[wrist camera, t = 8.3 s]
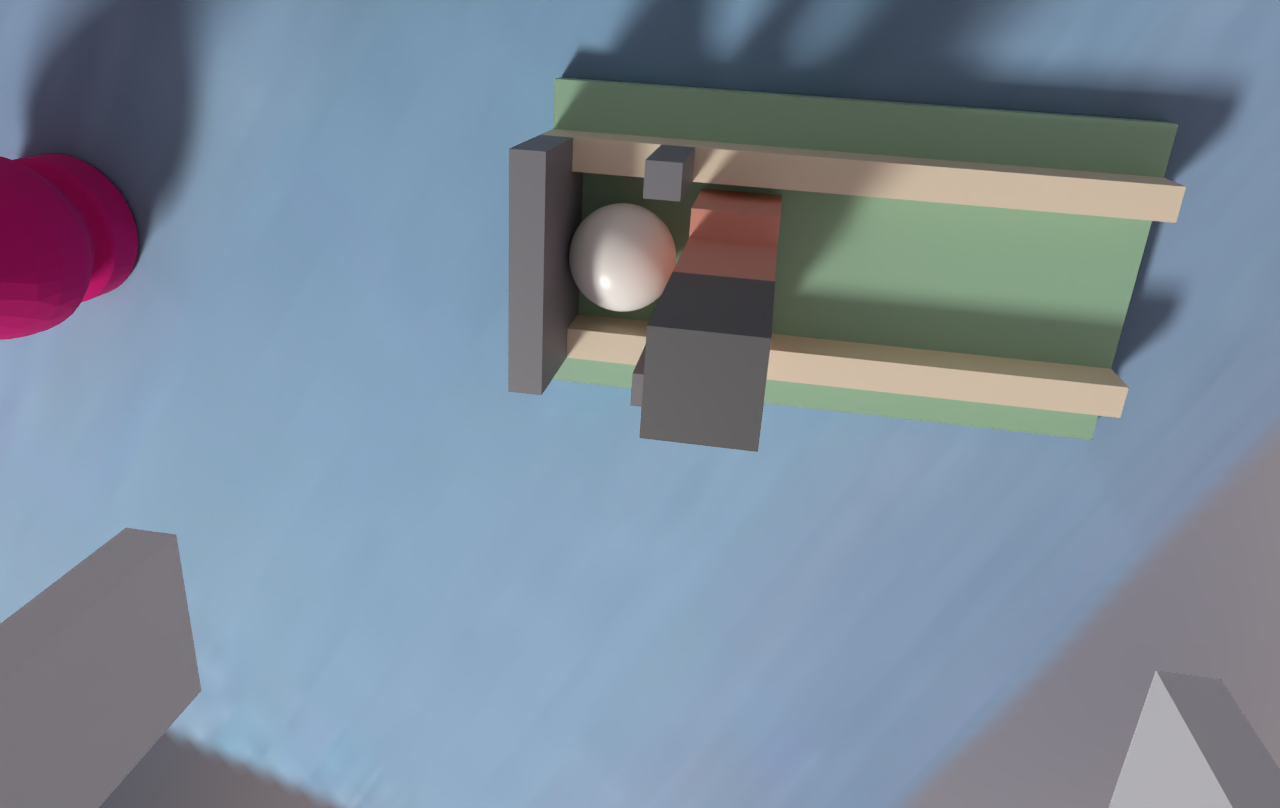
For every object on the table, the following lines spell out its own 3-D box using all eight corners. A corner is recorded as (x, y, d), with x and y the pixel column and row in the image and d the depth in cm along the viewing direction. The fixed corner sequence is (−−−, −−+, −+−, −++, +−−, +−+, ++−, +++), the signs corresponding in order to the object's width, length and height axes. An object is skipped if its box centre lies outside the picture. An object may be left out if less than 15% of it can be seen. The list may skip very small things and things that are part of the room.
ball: (568, 212, 32) (684, 218, 32) (572, 191, 35) (676, 196, 36) (565, 323, 33) (675, 327, 33) (569, 291, 37) (669, 296, 37)
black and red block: (701, 188, 35) (649, 285, 22) (782, 195, 34) (776, 297, 22) (691, 315, 37) (637, 472, 24) (767, 323, 36) (753, 487, 24)
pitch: (560, 77, 35) (509, 89, 29) (1167, 121, 33) (1259, 145, 26) (553, 370, 40) (508, 437, 34) (1084, 429, 37) (1144, 513, 31)
